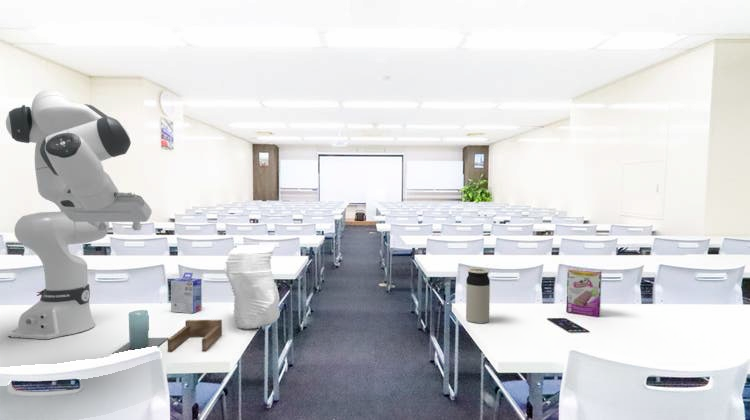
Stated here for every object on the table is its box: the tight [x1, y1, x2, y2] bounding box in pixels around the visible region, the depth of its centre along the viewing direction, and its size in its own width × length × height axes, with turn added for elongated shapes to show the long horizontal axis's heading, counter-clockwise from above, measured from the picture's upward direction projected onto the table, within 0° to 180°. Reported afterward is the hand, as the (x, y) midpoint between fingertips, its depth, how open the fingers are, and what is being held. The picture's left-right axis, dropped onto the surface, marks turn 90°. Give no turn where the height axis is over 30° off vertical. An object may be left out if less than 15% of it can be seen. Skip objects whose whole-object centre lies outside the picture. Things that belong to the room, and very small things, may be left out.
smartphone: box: [546, 317, 591, 334], centre depth 138 cm, size 8×1×15 cm
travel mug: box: [465, 267, 491, 324], centre depth 143 cm, size 8×8×18 cm
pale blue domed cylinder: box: [128, 309, 150, 350], centre depth 118 cm, size 5×7×10 cm
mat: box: [110, 337, 169, 354], centre depth 117 cm, size 10×14×1 cm
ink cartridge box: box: [170, 271, 203, 314], centre depth 154 cm, size 10×6×14 cm, turn 78°
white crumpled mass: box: [223, 243, 281, 330], centre depth 140 cm, size 21×27×26 cm
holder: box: [167, 319, 223, 353], centre depth 121 cm, size 11×13×5 cm
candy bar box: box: [565, 267, 603, 318], centre depth 151 cm, size 11×5×16 cm, turn 58°
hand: (120, 228), depth 111 cm, fingers open, 8 cm apart
